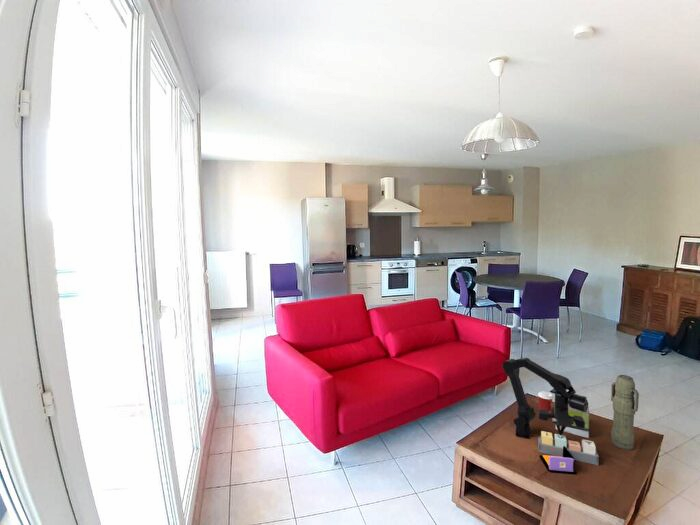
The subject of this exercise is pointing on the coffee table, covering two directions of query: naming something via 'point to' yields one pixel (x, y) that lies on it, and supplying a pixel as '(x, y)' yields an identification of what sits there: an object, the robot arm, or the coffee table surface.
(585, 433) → the tea box
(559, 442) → the key with caret symbol
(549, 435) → the key
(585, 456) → the keypad
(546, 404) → the paper cup
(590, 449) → the key
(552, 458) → the business card holder
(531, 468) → the coffee table surface
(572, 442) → the key with dash symbol
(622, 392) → the green thermos flask
